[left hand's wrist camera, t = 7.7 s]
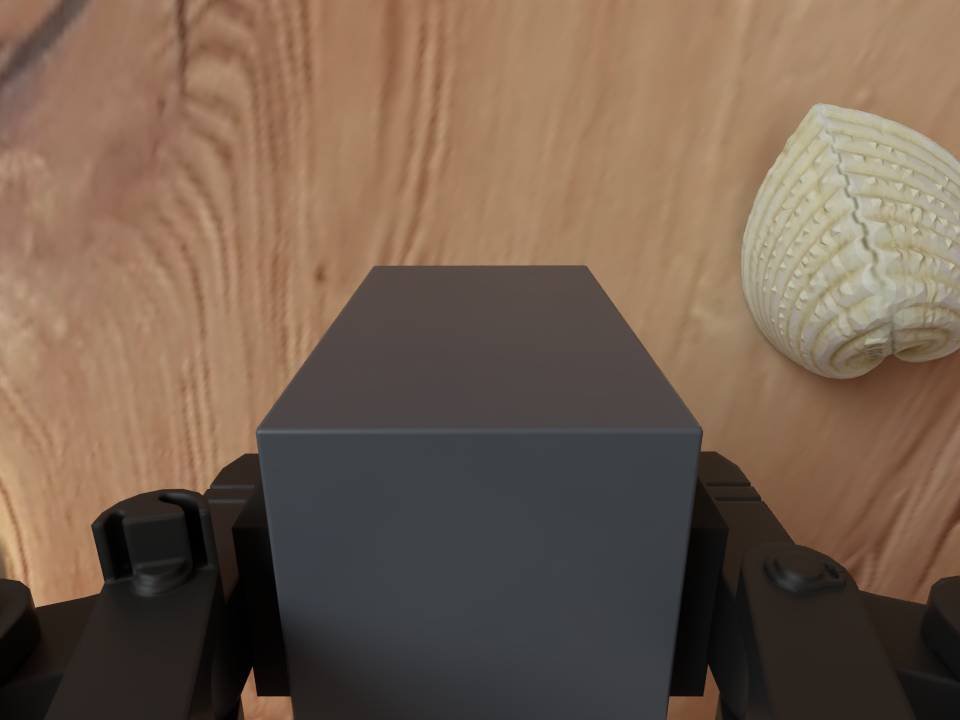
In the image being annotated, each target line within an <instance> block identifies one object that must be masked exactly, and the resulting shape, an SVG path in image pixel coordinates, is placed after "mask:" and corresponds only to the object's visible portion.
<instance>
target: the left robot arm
mask: <svg viewBox="0 0 960 720" xmlns="http://www.w3.org/2000/svg"><path fill="white" fill-rule="evenodd" d="M91 527H92V531H93V535H94V539H95V544H96V548H97V552H98V556H99V560H100V564H101V569H102V573H103V577H104V581H105V583H104V586H103V588H102V590H101V592H100V593H99V594H96V595H92V596H88V597H85V598H80V599H75V600H70V601H65V602H60V603H56V604H51V605H46V606H41V607H36V608H35V605H34V602H33V598H32V595H31V591H30V589H29V588H28V587H27V586H25V585H24V584H23V583H22V582H20V581H15V580H9V579H0V720H244V713H243V706H242V700H241V693H242V691H243V688H244V686H245V683H246V681H247V679H248V676H249V674H250V671H251V669H252V666H253V671H254V678H255V684H256V691H257V696H291V694H290V687H289V679H288V672H287V664H286V657H285V649H284V641H283V634H282V626H281V619H280V611H279V604H278V596H277V589H276V581H275V574H274V566H273V558H272V551H271V543H270V536H269V528H268V521H267V513H266V506H265V498H264V491H263V483H262V476H261V468H260V460H259V454H244V455H242V456H241V457H239V458H238V459H236V460H235V461H233V462H232V463H230V464H229V465H227V466H226V467H224V468H223V469H222V470H221V472H220V473H219V474H218V476H217V477H216V478H215V480H214V481H213V482H212V484H211V485H210V489H207V491H206V492H205V493H204V495H201V494H200V493H198V492H194V491H190V490H185V489H162V490H157V491H153V492H148V493H143V494H139V495H137V496H134V497H131V498H129V499H126V500H123V501H121V502H119V503H117V504H115V505H114V506H112V507H111V508H109V509H107V510H106V511H104V512H103V513H101V515H100V516H99V517H98V518H97V519H96V520H95V521H94V522H93V524H92V525H91ZM708 664H709V667H710V669H711V672H712V674H713V677H714V679H715V681H716V684H717V686H718V689H719V691H720V694H719V700H718V706H717V712H716V718H715V720H960V576H954V577H947V578H941V579H940V580H939V581H938V582H936V583H935V584H934V585H932V586H931V590H930V593H929V597H928V600H927V604H926V605H924V604H919V603H914V602H909V601H904V600H899V599H894V598H890V597H885V596H880V595H876V594H872V593H868V592H864V591H861V590H859V589H858V587H857V584H856V582H855V581H854V579H853V578H852V577H851V575H850V574H849V573H848V571H847V570H846V569H845V568H844V567H843V566H841V565H840V564H839V563H837V562H836V561H834V560H833V559H832V558H830V557H829V556H827V555H824V554H822V553H820V552H818V551H815V550H813V549H811V548H809V547H805V546H800V545H796V544H795V543H794V542H793V540H792V539H791V538H790V536H789V535H788V533H787V532H786V531H785V529H784V528H783V527H782V525H781V524H780V523H779V521H778V520H777V519H776V517H775V516H774V514H773V513H772V512H771V510H770V509H769V508H768V506H767V505H766V504H765V502H764V501H761V497H760V495H759V494H758V493H757V491H756V490H755V489H754V487H751V483H750V482H749V480H748V479H747V478H746V476H745V475H744V474H743V472H742V471H741V470H740V468H739V467H738V466H737V465H735V464H734V463H732V462H731V461H729V460H728V459H726V458H725V457H723V456H722V455H720V454H718V453H717V452H700V459H699V467H698V475H697V483H696V491H695V499H694V507H693V515H692V522H691V530H690V538H689V546H688V554H687V562H686V570H685V578H684V585H683V593H682V601H681V609H680V617H679V625H678V633H677V640H676V648H675V656H674V664H673V672H672V680H671V688H670V696H703V694H704V687H705V681H706V674H707V668H708Z"/></svg>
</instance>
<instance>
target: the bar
mask: <svg viewBox="0 0 960 720" xmlns="http://www.w3.org/2000/svg"><path fill="white" fill-rule="evenodd" d="M702 436H703V430H702V428H701V426H700V425H699V423H698V422H697V420H696V419H695V418H694V416H693V415H692V413H691V412H690V411H689V409H688V408H687V406H686V405H685V404H684V402H683V401H682V399H681V398H680V397H679V395H678V394H677V392H676V391H675V390H674V388H673V387H672V385H671V384H670V383H669V381H668V380H667V378H666V377H665V376H664V374H663V373H662V371H661V370H660V369H659V367H658V366H657V364H656V363H655V362H654V360H653V359H652V357H651V356H650V355H649V353H648V352H647V350H646V349H645V347H644V346H643V345H642V343H641V342H640V340H639V339H638V338H637V336H636V335H635V333H634V332H633V331H632V329H631V328H630V326H629V325H628V324H627V322H626V321H625V319H624V318H623V317H622V315H621V314H620V312H619V311H618V310H617V308H616V307H615V305H614V304H613V303H612V301H611V300H610V298H609V297H608V296H607V294H606V293H605V291H604V290H603V289H602V287H601V286H600V284H599V283H598V282H597V280H596V279H595V277H594V276H593V274H592V273H591V272H590V270H589V269H588V267H587V266H374V267H373V268H372V269H371V271H370V272H369V274H368V275H367V276H366V278H365V279H364V281H363V282H362V283H361V285H360V286H359V288H358V289H357V290H356V292H355V293H354V294H353V296H352V297H351V299H350V300H349V301H348V303H347V304H346V306H345V307H344V308H343V310H342V311H341V313H340V314H339V315H338V317H337V318H336V319H335V321H334V322H333V324H332V325H331V326H330V328H329V329H328V331H327V332H326V333H325V335H324V336H323V338H322V339H321V340H320V342H319V343H318V344H317V346H316V347H315V349H314V350H313V351H312V353H311V354H310V356H309V357H308V358H307V360H306V361H305V363H304V364H303V365H302V367H301V368H300V369H299V371H298V372H297V374H296V375H295V376H294V378H293V379H292V381H291V382H290V383H289V385H288V386H287V388H286V389H285V390H284V392H283V393H282V395H281V396H280V397H279V399H278V400H277V401H276V403H275V404H274V406H273V407H272V408H271V410H270V411H269V413H268V414H267V415H266V417H265V418H264V420H263V421H262V422H261V424H260V425H259V426H258V428H257V430H256V438H257V445H258V453H259V460H260V468H261V476H262V483H263V491H264V498H265V506H266V513H267V521H268V528H269V536H270V543H271V551H272V558H273V566H274V574H275V581H276V589H277V596H278V604H279V611H280V619H281V626H282V634H283V641H284V649H285V657H286V664H287V672H288V679H289V687H290V694H291V702H292V709H293V717H294V720H666V719H667V711H668V703H669V696H670V688H671V680H672V672H673V664H674V656H675V648H676V640H677V633H678V625H679V617H680V609H681V601H682V593H683V585H684V578H685V570H686V562H687V554H688V546H689V538H690V530H691V522H692V515H693V507H694V499H695V491H696V483H697V475H698V467H699V459H700V452H701V444H702Z"/></svg>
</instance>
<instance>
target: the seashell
mask: <svg viewBox="0 0 960 720" xmlns="http://www.w3.org/2000/svg"><path fill="white" fill-rule="evenodd" d="M741 273H742V284H743V292H744V295H745V298H746V302H747V304H748V307H749V310H750V313H751V315H752V317H753V319H754V321H755V323H756V325H757V326H758V328H759V329H760V331H761V332H762V333H763V335H764V336H765V337H766V338H767V340H768V341H769V342H770V343H771V344H772V345H773V346H774V347H775V348H776V349H777V350H778V351H779V352H780V353H782V354H783V355H784V356H786V357H787V358H788V359H790V360H792V361H793V362H795V363H797V364H799V365H801V366H802V367H804V368H805V369H806V370H808V371H810V372H812V373H815V374H817V375H820V376H823V377H828V378H835V379H850V378H855V377H858V376H862V375H864V374H866V373H867V372H869V371H870V370H872V369H873V368H875V367H876V366H878V365H879V364H880V363H881V362H882V361H883V360H884V358H885V357H887V356H888V355H891V354H893V355H894V357H896V358H898V359H900V360H901V361H906V362H926V361H930V360H934V359H939V358H941V357H944V356H947V355H949V354H951V353H953V352H955V351H956V350H958V349H959V348H960V162H959V161H958V160H957V159H956V158H955V157H954V156H953V155H951V154H950V153H949V152H948V151H947V150H945V149H944V148H942V147H941V146H940V145H938V144H937V143H935V142H934V141H932V140H931V139H929V138H927V137H925V136H924V135H922V134H920V133H918V132H916V131H915V130H912V129H910V128H908V127H906V126H904V125H902V124H899V123H897V122H895V121H892V120H889V119H886V118H883V117H880V116H878V115H875V114H871V113H867V112H862V111H858V110H853V109H845V108H841V107H838V106H834V105H830V104H825V103H818V104H815V105H813V107H812V108H811V109H810V111H809V112H808V113H807V115H806V116H805V118H804V119H803V121H802V122H801V124H800V125H799V126H798V128H797V129H796V131H795V132H794V133H793V134H792V136H791V137H790V138H789V139H788V140H787V143H786V145H785V147H784V150H783V151H782V153H781V154H780V155H779V156H778V158H777V159H776V161H775V163H774V165H773V166H772V168H771V169H770V170H769V171H768V173H767V175H766V177H765V179H764V181H763V183H762V184H761V186H760V188H759V190H758V193H757V195H756V198H755V200H754V203H753V207H752V210H751V213H750V215H749V217H748V221H747V225H746V229H745V232H744V236H743V242H742V250H741Z"/></svg>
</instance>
